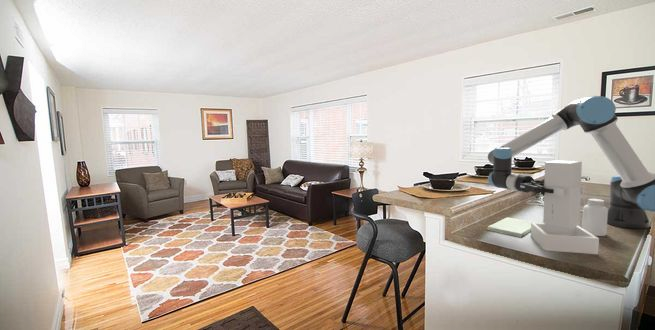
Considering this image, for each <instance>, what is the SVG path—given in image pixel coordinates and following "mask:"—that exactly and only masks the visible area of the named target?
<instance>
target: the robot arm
mask: <svg viewBox="0 0 655 330" xmlns="http://www.w3.org/2000/svg"><path fill="white" fill-rule="evenodd" d="M616 109H617V108H616V105H615V103H614V101H613V100H611V99H610V98H608V97H605V96H601V95H590V96H587V97H583V98H578V99H575V100H572V101H571V102H569V103H568V104H567V105H565V106H564V107H561V108H560V109H558V110H557V111H555V112H554V113H552V115H551V117H550V118H548V119H546V120H544V121H542V122H541V123H539V124H538V125H536V126H534V127H532V128H531V129H529V130H527V131H525V132H524V133H522V134H520V135H519V136H517V137H515V138H514V139H511V140H510V141H507V143H505V144H503V145H501V146H499V147H496V148H494V149H492V150H490V151H489V153H488V154H487V159H488V161H489V163H490V164H492V166H493V169H492V172H489V174H488V177H487V182H488V184H489V185H490V186H491V187H494V188H498V189H504V190H505V189H506V190H511V191H513V192H522V193H530V192H531V193H535V194H540V195H541V196H544V195H545V193H546V194H552V195H558V196H564V189H561V188H554V187H548V186H546V188H545V187H544V181H545V180H539V179H534V177H532V176H531V175H527V174H526V175H525V174H524V175H523V174H518V173H512V167H513V164H512V162H513V161H512V159H513V158H514V157H516V156H518V155H519V154H521V153H523V152H524V151H526V150H529V149H530V148H532V147H534V146H536V145H537V144H539V143H542V142H543V141H544V140H546V139H548V138H550V137H552V136H553V135H555V134H557V133H559V132H561V131H567V130H569V129H571V128H573V127H576V126H580V127H581V129H582V131H583V132H584V133H586V134H590V135H591V136H592V138H593V139H594V141H595V142H596V143H597V145H598V146H599V148H600V149H601V151H602V153H603V155H604V156H605V157H606V158H607V160H608V161H609V163H610V164H611V166H612V168H613V169H614V170H615V172H616V174H617V175H612V176H611V178H610V179H611V180H610V183H609V184H610V186H609V187H610V189H609V190H610V193H609V205H608V206H609V207H607V209H608V217H607V225H612V226H616V227H619V228H628V229H640V230H641V229H642V230H643V229H648V228H650V220H649V217H648V214H647V212H648V211H649V212H655V173H654V172H649V171H648V170H647V167H646V166H645V165H644V164H643V162H642V160H641V159H640V157H639V156H638V154H636V151H635V150H634V149H633V147H632V146H631V144H630V143H629V141H628V140H627V138H626V137H625V135H624V134H623V133H622V131H621V130H620V128H619V127H618V125H617V122H618V117H617V116H616V111H617V110H616ZM581 194H586V186H585V185H581ZM646 211H647V212H646Z"/></svg>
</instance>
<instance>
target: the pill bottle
mask: <svg viewBox="0 0 655 330" xmlns="http://www.w3.org/2000/svg"><path fill="white" fill-rule="evenodd" d="M582 210H583V211H582V220H581V221H582V222H581V228H583V229H585V230H586V231H588V232H589V233H591V234H593V235H594V236H596V237H605V236H606V235H607V229H608V223H607V217H608V207H606V206H605V200H603V199H600V198H588V199H587V204H585V205H584V206H583V207H582Z"/></svg>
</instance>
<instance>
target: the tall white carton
mask: <svg viewBox="0 0 655 330" xmlns="http://www.w3.org/2000/svg"><path fill="white" fill-rule="evenodd" d="M582 163H583V161H581V160H580V161H579V160H578V161H577V160H560V159H559V160H550V161H545V162H544V180H543V181H544V187H545V188H546V186H548V187H554V188H561V189H564V196H558V195H552V194H546V193H545V195H543V222H542V223H544V224H548V225H553V226H557V227H562V228H567V229H570V228H573V227H575V226H577V225H578V226H580V223H581V204H582V203H581V198H582V197H581V195H582V193H581V186H582V171H583V170H582V167H583V166H582V165H583V164H582Z"/></svg>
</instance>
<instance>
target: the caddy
mask: <svg viewBox="0 0 655 330" xmlns="http://www.w3.org/2000/svg"><path fill="white" fill-rule="evenodd" d="M530 237H531V238H532V240H534V241H535V242H536V243H537V244H538V245H539V246H540V247H541V248H542V249H543V250H544V251H549V252H560V253H574V254H575V253H576V254H589V255H599V243H600V241H599V240H600V238H599V236H594V235H593V234H591V233H589V232H588V231H586V230H585V229H583V228H582V226H580V225H577V226H575V227H573V228H570V229H567V228H562V227H557V226H553V225H548V224H544V223H543V222H541V223H540V222H537V223H531V231H530Z"/></svg>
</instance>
